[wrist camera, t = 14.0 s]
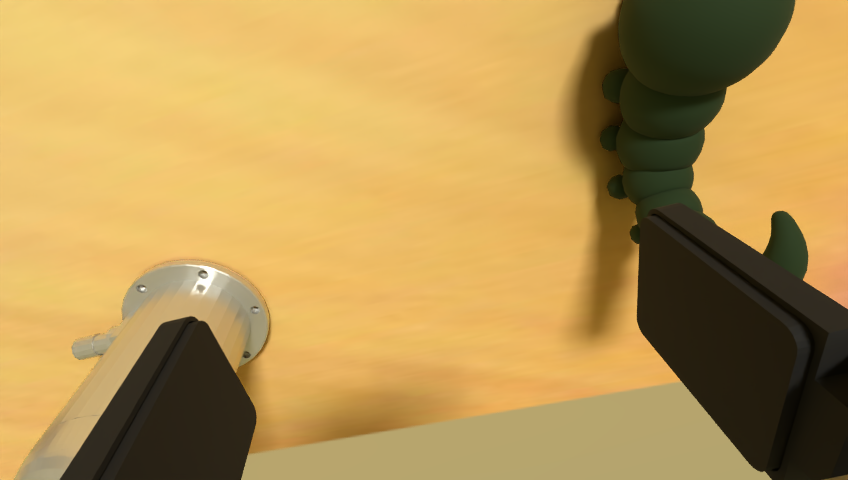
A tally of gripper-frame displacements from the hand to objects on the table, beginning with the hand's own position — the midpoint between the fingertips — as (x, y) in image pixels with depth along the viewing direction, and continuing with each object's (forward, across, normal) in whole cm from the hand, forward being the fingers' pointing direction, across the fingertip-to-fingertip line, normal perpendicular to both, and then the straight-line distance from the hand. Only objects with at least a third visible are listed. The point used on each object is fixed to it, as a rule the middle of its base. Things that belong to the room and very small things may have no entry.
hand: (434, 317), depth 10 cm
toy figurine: (+29, -20, +4) cm, 35 cm away
